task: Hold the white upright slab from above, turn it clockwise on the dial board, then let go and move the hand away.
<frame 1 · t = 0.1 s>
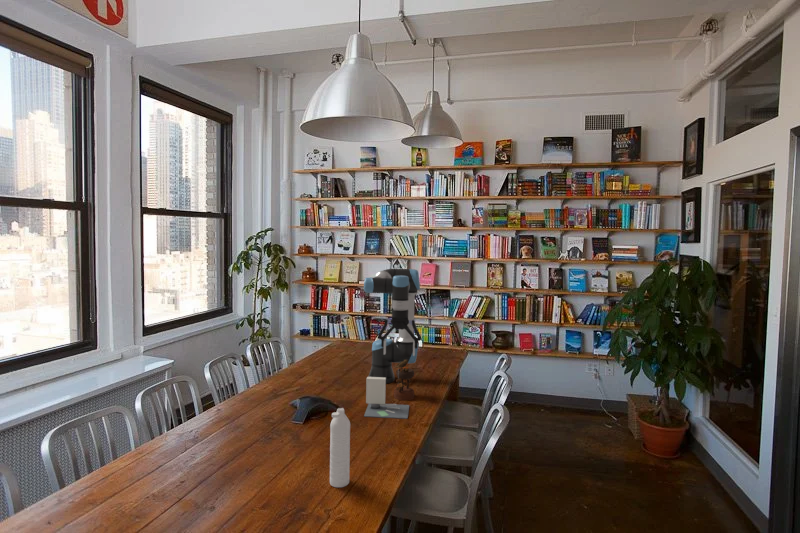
hand: (399, 354, 207), 28 cm above the table, fingers open, 13 cm apart
water bottle: (338, 484, 147), on the table
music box: (404, 396, 231), on the table
dial board: (387, 411, 211), on the table
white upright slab: (381, 392, 213), point 8 cm above the table, hinge at 0.0°
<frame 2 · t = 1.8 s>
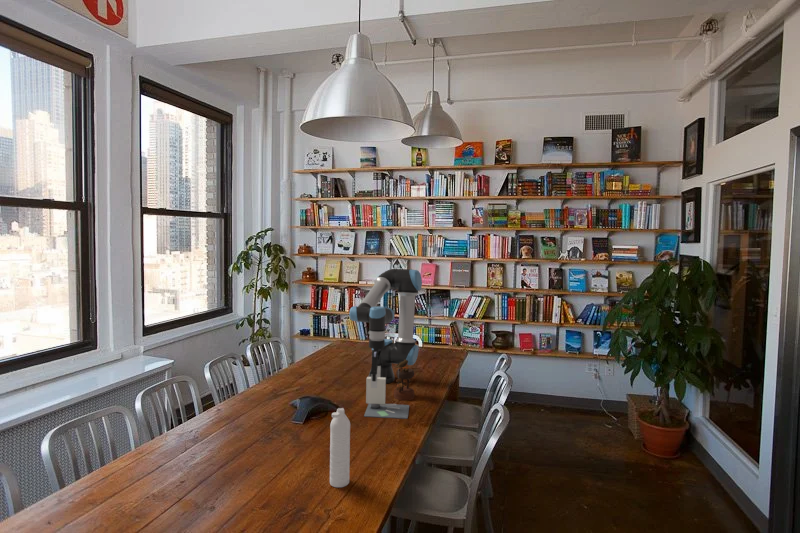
hand: (375, 383, 213), 12 cm above the table, fingers open, 13 cm apart
nothing on the table moved.
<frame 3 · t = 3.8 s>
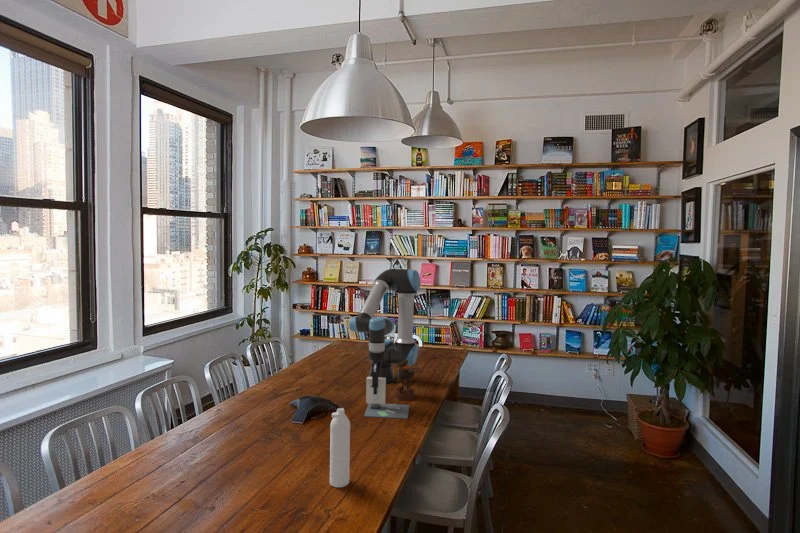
hand: (375, 398, 214), 5 cm above the table, fingers closed on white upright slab, 3 cm apart
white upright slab: (381, 392, 213), point 8 cm above the table, hinge at -0.1°, touching gripper
everything else where it was.
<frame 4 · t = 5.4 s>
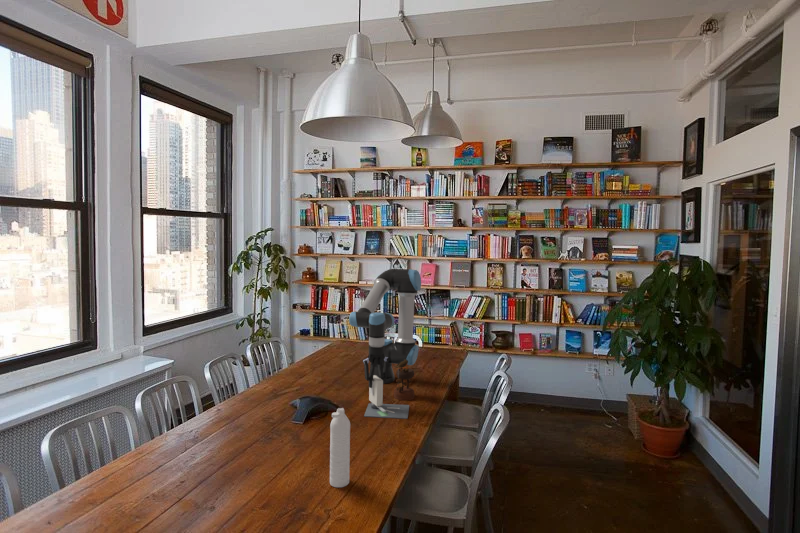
hand: (375, 393, 214), 7 cm above the table, fingers closed on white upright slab, 3 cm apart
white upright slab: (378, 394, 211), point 8 cm above the table, hinge at -58.6°, touching gripper
everything else where it was.
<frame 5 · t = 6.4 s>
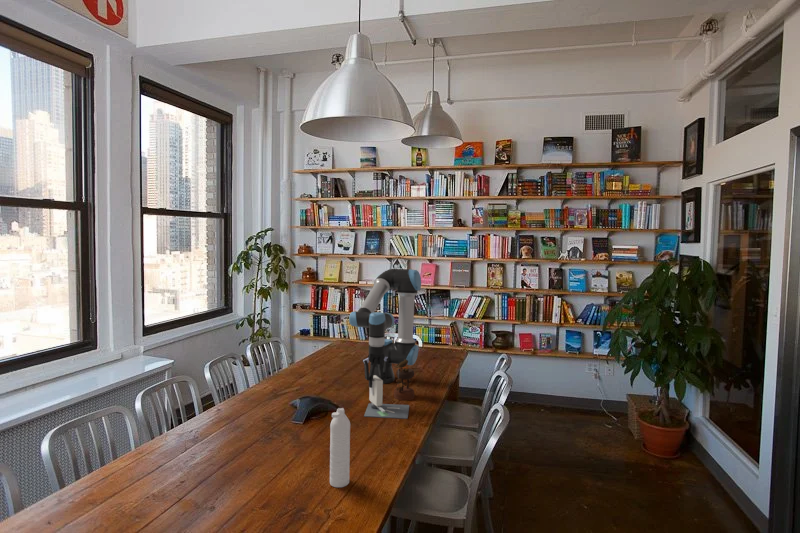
hand: (375, 393, 214), 7 cm above the table, fingers closed on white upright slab, 3 cm apart
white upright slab: (378, 394, 211), point 8 cm above the table, hinge at -60.0°, touching gripper
everything else where it was.
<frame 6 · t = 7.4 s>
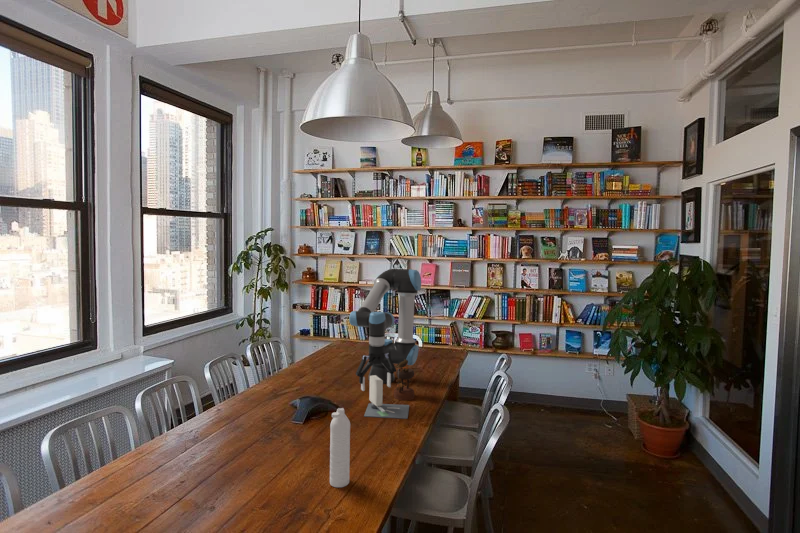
hand: (375, 388, 214), 10 cm above the table, fingers open, 13 cm apart
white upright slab: (378, 394, 211), point 8 cm above the table, hinge at -59.9°
everything else where it was.
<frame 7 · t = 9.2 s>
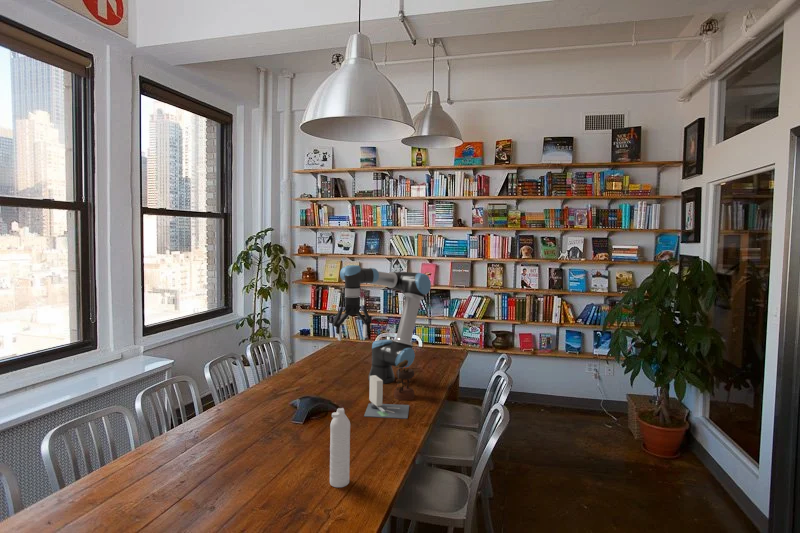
hand: (352, 338, 222), 31 cm above the table, fingers open, 13 cm apart
nothing on the table moved.
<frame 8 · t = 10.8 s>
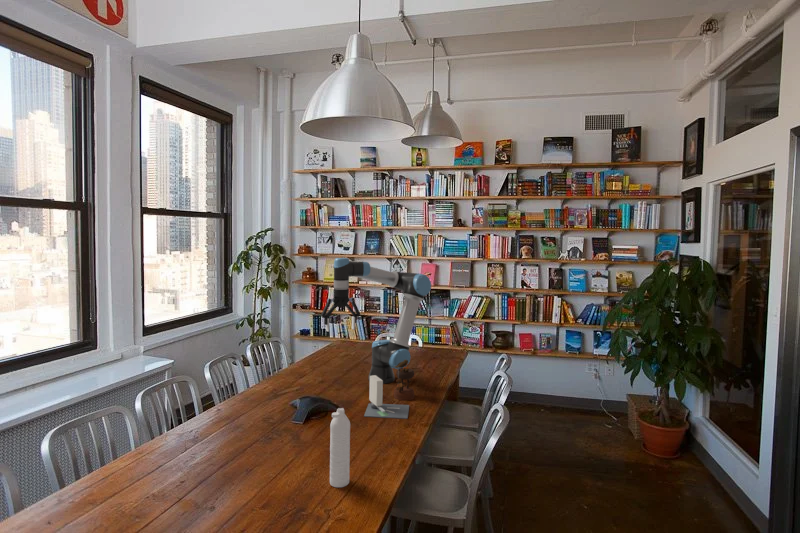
hand: (340, 330, 225), 35 cm above the table, fingers open, 13 cm apart
nothing on the table moved.
at the end: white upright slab at -60° (first picture: +0°); the gripper is holding nothing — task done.
